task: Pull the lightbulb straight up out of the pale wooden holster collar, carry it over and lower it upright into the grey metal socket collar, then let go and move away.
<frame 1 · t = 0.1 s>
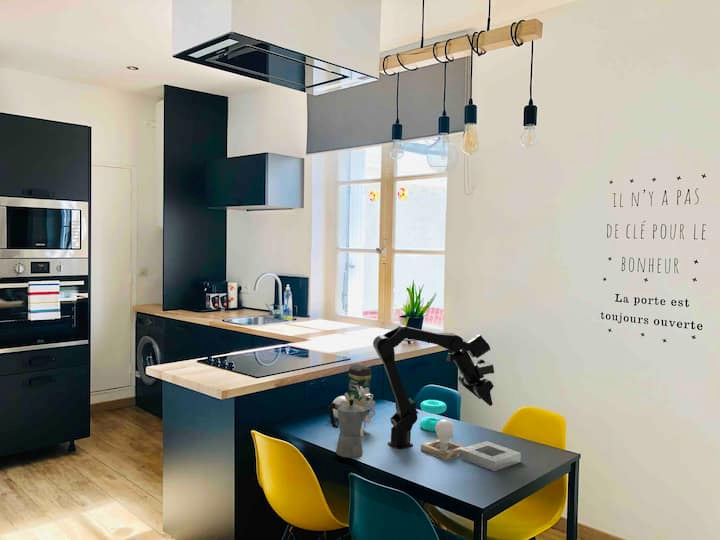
hand: (486, 401, 211), 15 cm above the table, tool tilted 30°, fingers open, 9 cm apart
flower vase: (350, 426, 225), on the table
lightbulb: (443, 452, 201), resting in holster
donuts: (432, 428, 226), on the table
coffee jar: (358, 409, 249), on the table
socket: (489, 459, 194), on the table
coffeepot: (346, 452, 196), on the table
holster: (443, 451, 201), on the table
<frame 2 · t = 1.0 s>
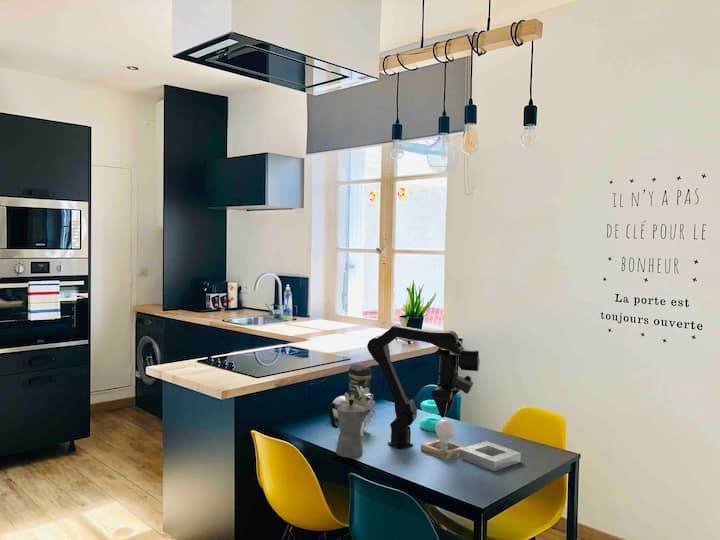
hand: (445, 413, 200), 13 cm above the table, tool pointing down, fingers open, 9 cm apart
nothing on the table moved.
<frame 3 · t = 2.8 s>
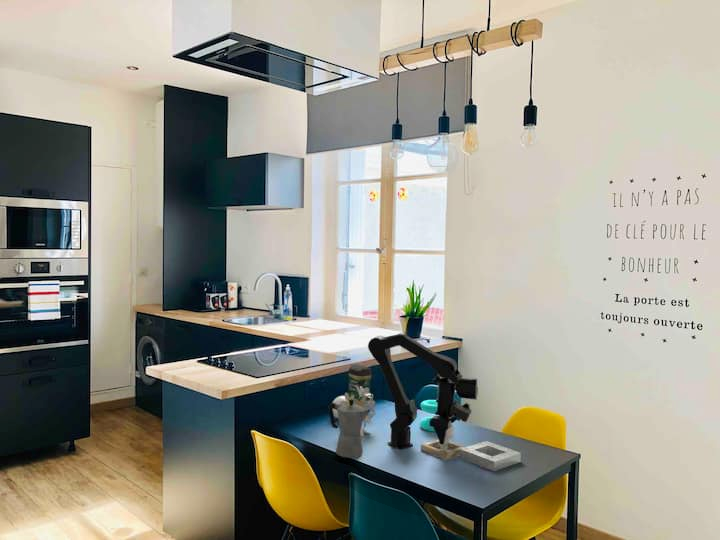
hand: (444, 441, 200), 4 cm above the table, tool pointing down, fingers closed on lightbulb, 6 cm apart
lightbulb: (443, 452, 201), resting in holster, touching gripper
everything else where it was.
when the fingers open (4 cm above the table, at t = 8.1 s): lightbulb stays where it is, resting in socket.
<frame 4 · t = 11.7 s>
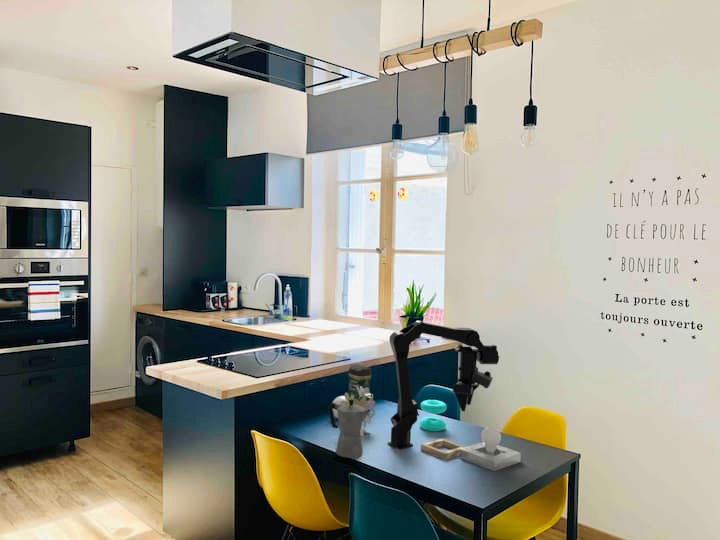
hand: (466, 407, 209), 13 cm above the table, tool pointing down, fingers open, 9 cm apart
lightbulb: (489, 460, 194), resting in socket
everything else where it was.
at the end: lightbulb 0.0 cm off-centre on the socket, point 0.0 cm above the socket's base; lightbulb tilted 0°; the gripper is holding nothing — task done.
